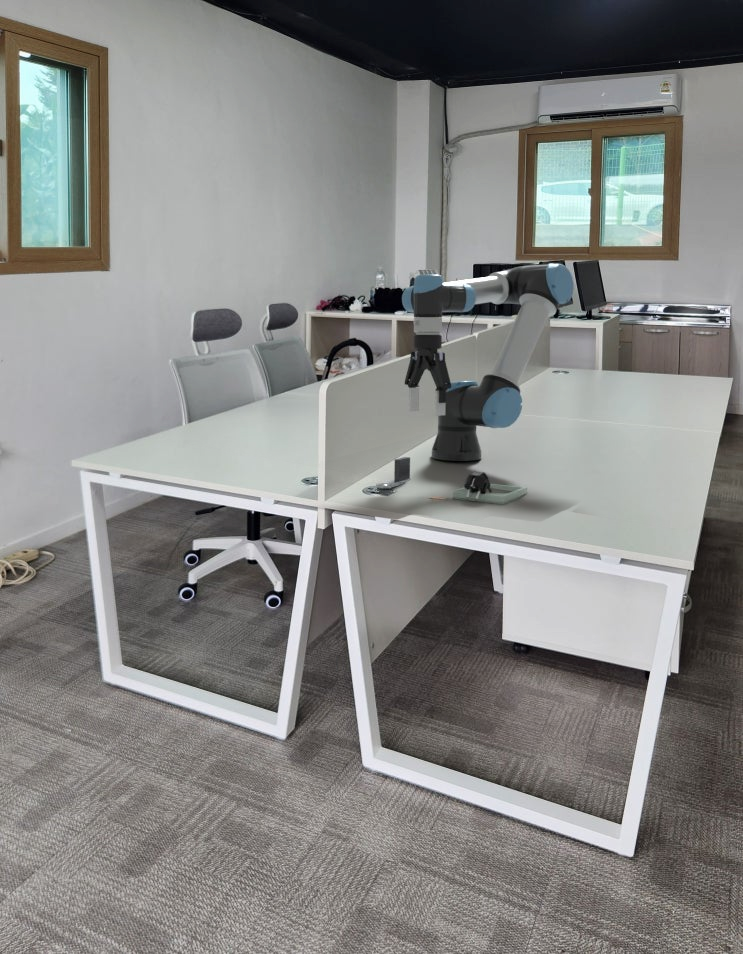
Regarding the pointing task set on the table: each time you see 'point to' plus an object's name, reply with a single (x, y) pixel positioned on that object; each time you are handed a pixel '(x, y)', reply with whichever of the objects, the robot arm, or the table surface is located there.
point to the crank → (398, 474)
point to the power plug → (477, 484)
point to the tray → (492, 494)
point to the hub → (384, 491)
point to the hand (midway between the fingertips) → (426, 413)
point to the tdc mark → (437, 498)
